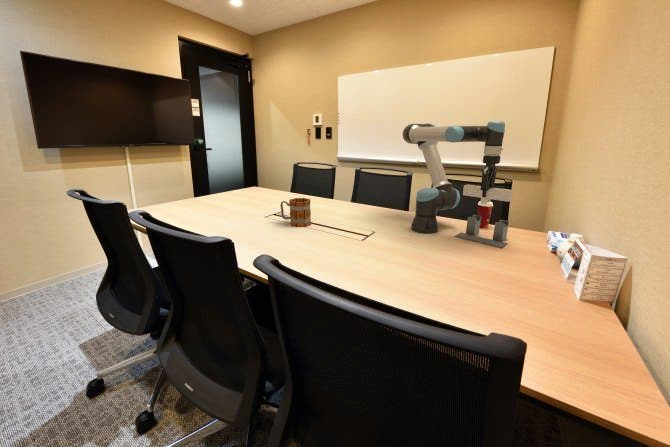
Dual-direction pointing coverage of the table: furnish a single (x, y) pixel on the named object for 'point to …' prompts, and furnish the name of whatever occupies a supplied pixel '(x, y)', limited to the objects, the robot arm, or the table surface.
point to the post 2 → (500, 230)
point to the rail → (492, 192)
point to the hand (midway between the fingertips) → (485, 202)
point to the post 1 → (473, 225)
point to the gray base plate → (481, 240)
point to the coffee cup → (484, 213)
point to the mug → (298, 212)
